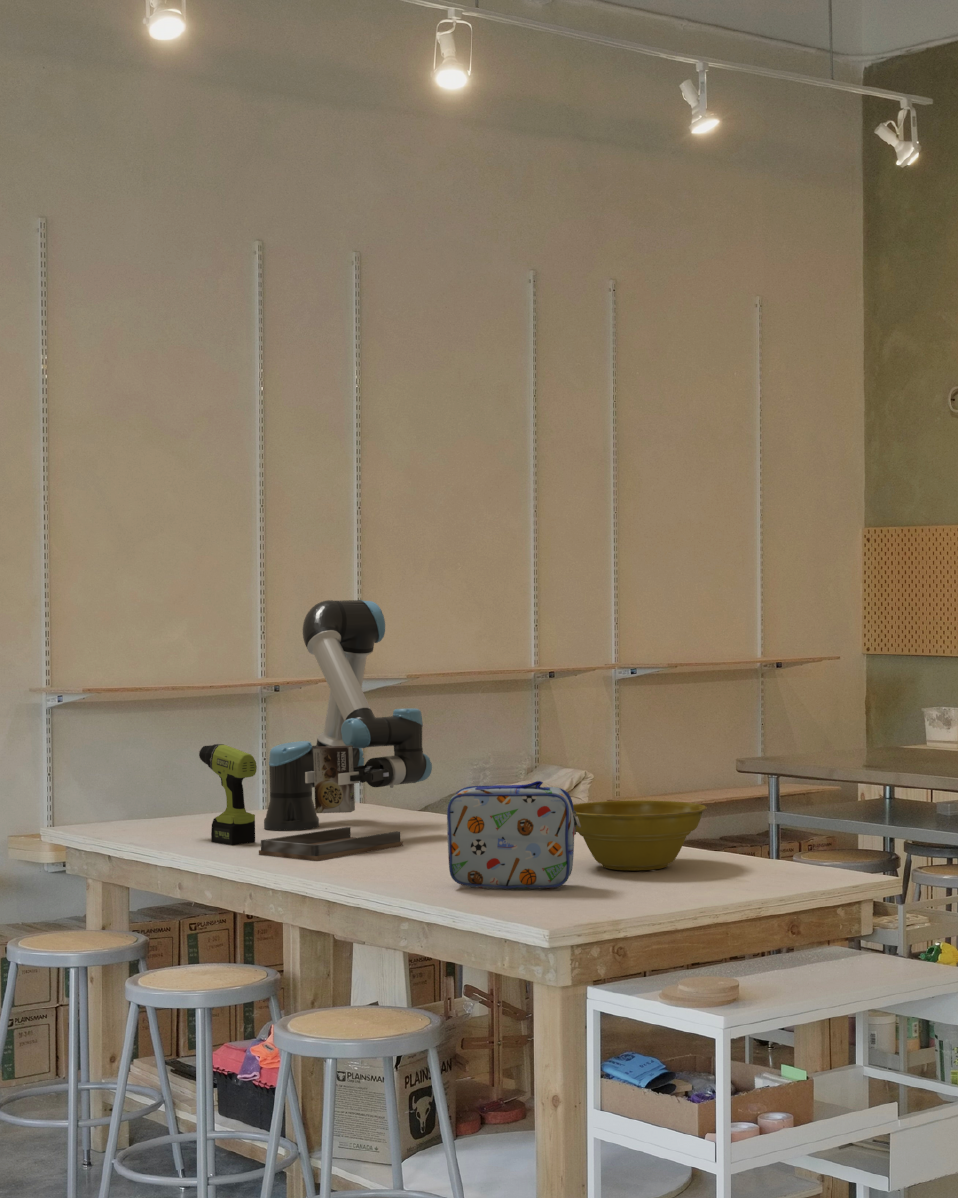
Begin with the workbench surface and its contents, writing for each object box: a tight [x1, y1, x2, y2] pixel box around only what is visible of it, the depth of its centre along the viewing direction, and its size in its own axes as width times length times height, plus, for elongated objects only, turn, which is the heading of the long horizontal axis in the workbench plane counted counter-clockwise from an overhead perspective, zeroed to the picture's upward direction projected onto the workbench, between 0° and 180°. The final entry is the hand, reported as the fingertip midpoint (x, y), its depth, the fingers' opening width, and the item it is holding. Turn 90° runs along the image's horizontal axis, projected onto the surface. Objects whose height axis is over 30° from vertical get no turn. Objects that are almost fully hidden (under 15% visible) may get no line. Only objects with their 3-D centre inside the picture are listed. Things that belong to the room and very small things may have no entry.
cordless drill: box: [198, 743, 258, 846], centre depth 397 cm, size 23×7×25 cm, turn 42°
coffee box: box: [313, 745, 356, 814], centre depth 376 cm, size 9×6×16 cm
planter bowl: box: [573, 799, 708, 872], centre depth 339 cm, size 32×32×13 cm
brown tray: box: [258, 826, 404, 862], centre depth 375 cm, size 20×30×4 cm, turn 141°
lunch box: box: [446, 780, 581, 890], centre depth 314 cm, size 28×10×22 cm, turn 81°
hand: (322, 778), depth 373 cm, fingers closed on coffee box, 11 cm apart
